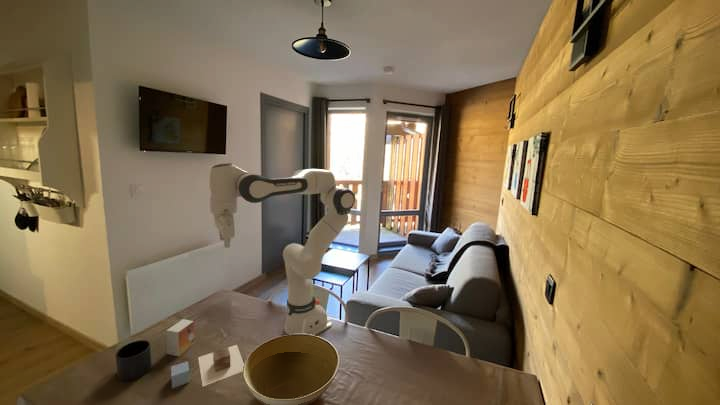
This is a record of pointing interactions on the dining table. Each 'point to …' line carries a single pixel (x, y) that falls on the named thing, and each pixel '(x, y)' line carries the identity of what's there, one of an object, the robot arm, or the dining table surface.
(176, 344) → the small box
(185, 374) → the cube
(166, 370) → the dining table surface
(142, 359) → the mug
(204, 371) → the cream flat square panel
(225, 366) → the block
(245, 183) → the robot arm
